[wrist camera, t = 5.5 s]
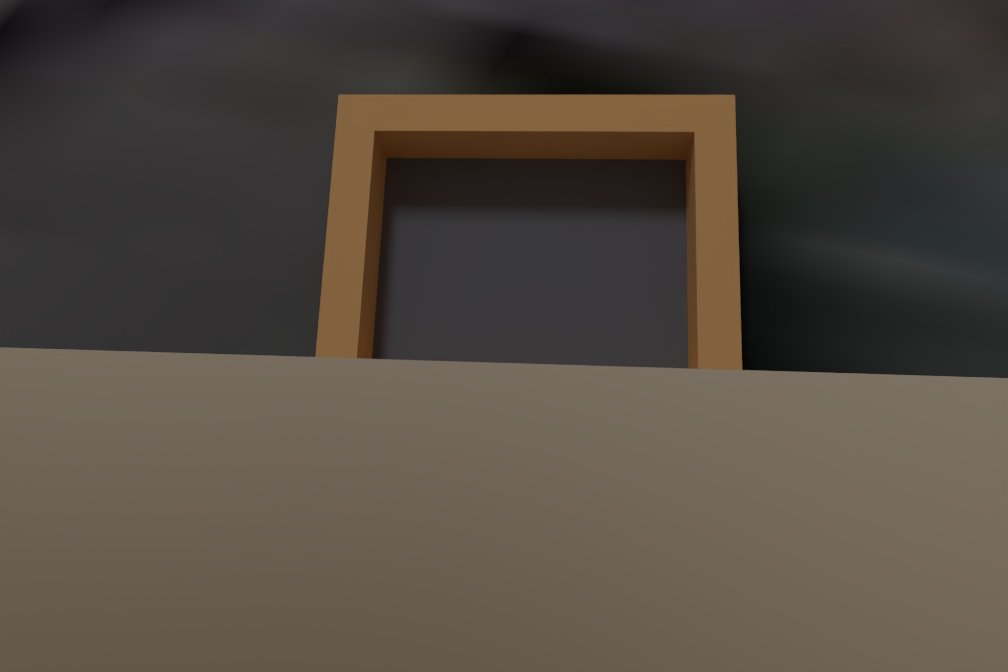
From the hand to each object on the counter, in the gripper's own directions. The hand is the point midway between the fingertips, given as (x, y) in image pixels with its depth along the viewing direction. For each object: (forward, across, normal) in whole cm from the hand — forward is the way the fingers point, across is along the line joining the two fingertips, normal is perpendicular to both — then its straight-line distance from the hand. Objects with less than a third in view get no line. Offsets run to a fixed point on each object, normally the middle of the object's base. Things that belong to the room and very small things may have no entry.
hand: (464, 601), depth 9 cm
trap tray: (+14, 0, +4) cm, 15 cm away
